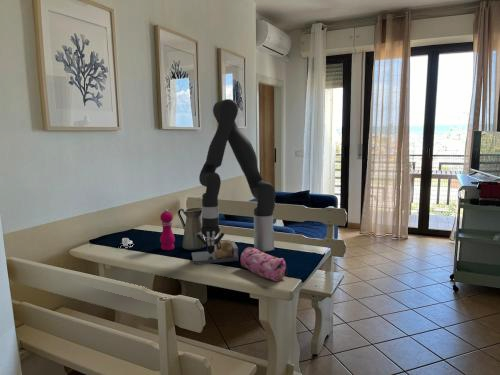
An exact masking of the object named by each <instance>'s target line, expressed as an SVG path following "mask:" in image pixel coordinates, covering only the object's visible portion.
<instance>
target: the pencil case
mask: <svg viewBox="0 0 500 375" xmlns="http://www.w3.org/2000/svg"><path fill="white" fill-rule="evenodd" d="M240 265H241V266H242V268H245V269H248V270H249V271H250V272H252V273H254V274H255V275H257V276H259V277H262V278H265V279H269V280H271V281H273V282H279V281H281V280H282V279H284V277H285V276H287V274H288V269H287V264H286V260H285V259H284V258H283V257H280V258H279V257H277V256H273V255H270V254H268V253H265V252H264V251H259V250H258V249H255V248H254V247H251V246H248V247H246V248H244V250H243V251H242V252H241V254H240Z"/></svg>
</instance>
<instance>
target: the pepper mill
mask: <svg viewBox="0 0 500 375" xmlns="http://www.w3.org/2000/svg"><path fill="white" fill-rule="evenodd" d="M173 217H174V216H173V214H172V212H170V211H169V209H167V208H165V209H164V212H162V213H161V214H160V217H159V218H160V221H161V226H162V232H161V235H160V238H159V243H161V246H160V248H161V250H162V251H171V250H174V248H175V244H174V243H175V242H176V239H175V235H174V234H175V233H173V230H172V225H173V221H172V220H173V219H174V218H173Z"/></svg>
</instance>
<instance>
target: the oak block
mask: <svg viewBox="0 0 500 375" xmlns="http://www.w3.org/2000/svg"><path fill="white" fill-rule="evenodd" d="M232 242H233V241H232V240H231V239H221V240H220V241H219V244H220V247H221V249H222V256H232Z"/></svg>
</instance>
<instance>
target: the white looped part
mask: <svg viewBox="0 0 500 375" xmlns="http://www.w3.org/2000/svg"><path fill="white" fill-rule="evenodd" d="M121 244H123V245H122V246H123V247H125V248H124V249H128V247H129V248H132V247H133V245H135V244H134V243H133V240H130V239H129V238H128V237H123V238H122V239H121ZM128 244H129V245H130V246H129V245H128ZM131 244H133V245H132V246H131ZM122 246H120V249H122V248H121V247H122Z"/></svg>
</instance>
